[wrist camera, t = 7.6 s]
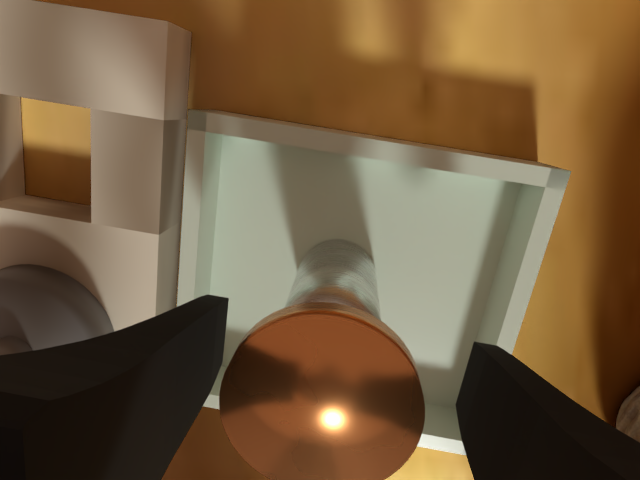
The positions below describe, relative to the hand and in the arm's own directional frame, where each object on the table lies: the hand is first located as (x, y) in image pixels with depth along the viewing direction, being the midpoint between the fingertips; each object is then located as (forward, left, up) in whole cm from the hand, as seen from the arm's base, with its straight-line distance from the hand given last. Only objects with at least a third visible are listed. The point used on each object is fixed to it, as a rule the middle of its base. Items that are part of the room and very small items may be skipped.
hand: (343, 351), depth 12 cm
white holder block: (-12, 0, -6) cm, 13 cm away
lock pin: (0, 0, -5) cm, 5 cm away
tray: (0, 0, -6) cm, 6 cm away
